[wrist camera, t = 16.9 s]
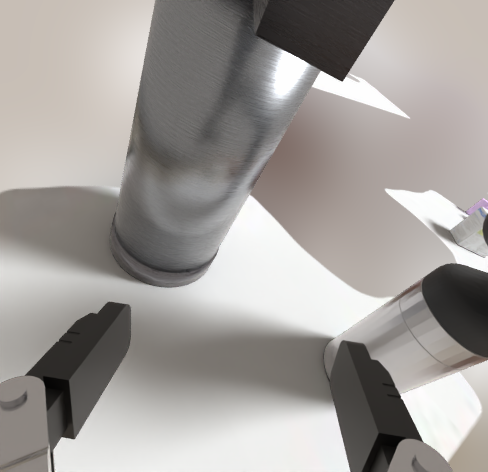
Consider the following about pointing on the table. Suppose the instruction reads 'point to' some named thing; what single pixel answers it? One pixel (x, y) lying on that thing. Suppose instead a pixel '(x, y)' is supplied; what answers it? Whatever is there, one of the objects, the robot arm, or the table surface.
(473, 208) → the clip
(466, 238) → the light bulb box
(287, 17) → the lid
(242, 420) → the table surface
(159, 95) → the canister
